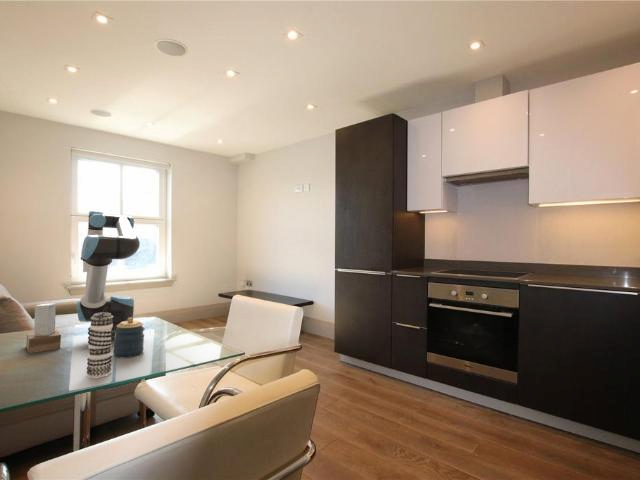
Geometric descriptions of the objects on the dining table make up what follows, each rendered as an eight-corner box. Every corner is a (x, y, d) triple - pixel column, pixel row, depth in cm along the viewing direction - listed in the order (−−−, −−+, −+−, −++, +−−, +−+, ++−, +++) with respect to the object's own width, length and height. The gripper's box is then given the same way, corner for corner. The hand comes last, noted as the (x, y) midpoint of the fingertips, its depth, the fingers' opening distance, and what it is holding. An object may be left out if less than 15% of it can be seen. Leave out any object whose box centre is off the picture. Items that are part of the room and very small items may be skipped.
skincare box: (47, 335, 166) (49, 305, 166) (32, 336, 164) (34, 305, 164) (55, 331, 174) (56, 302, 174) (41, 332, 172) (42, 302, 172)
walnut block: (60, 349, 169) (61, 334, 169) (28, 353, 160) (29, 338, 160) (56, 343, 177) (57, 330, 177) (26, 347, 168) (26, 333, 169)
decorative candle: (88, 371, 142) (91, 311, 142) (113, 369, 145) (117, 310, 146) (82, 379, 133) (85, 315, 134) (109, 377, 137) (112, 315, 137)
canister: (138, 348, 174) (140, 313, 175) (147, 354, 165) (149, 318, 165) (109, 353, 165) (111, 316, 165) (117, 360, 156) (119, 321, 156)
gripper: (115, 238, 201) (113, 273, 201) (87, 236, 210) (85, 271, 210) (103, 237, 194) (101, 274, 194) (75, 236, 204) (73, 271, 203)
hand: (93, 272), depth 202 cm, fingers open, 13 cm apart
